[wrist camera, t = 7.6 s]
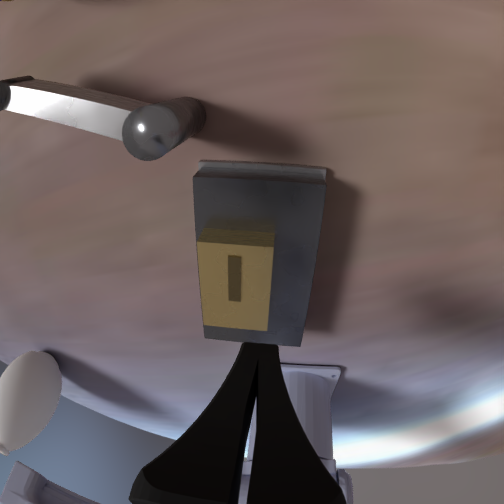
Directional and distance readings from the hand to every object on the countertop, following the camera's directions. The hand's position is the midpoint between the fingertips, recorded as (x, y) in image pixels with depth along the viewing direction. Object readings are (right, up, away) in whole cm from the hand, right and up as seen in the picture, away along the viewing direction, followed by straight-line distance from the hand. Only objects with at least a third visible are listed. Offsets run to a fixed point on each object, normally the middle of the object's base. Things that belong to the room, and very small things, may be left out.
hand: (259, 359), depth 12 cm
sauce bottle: (-26, -9, +20) cm, 34 cm away
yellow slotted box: (-1, +3, +7) cm, 8 cm away
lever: (-9, +14, +4) cm, 17 cm away
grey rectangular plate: (0, +4, +9) cm, 10 cm away
